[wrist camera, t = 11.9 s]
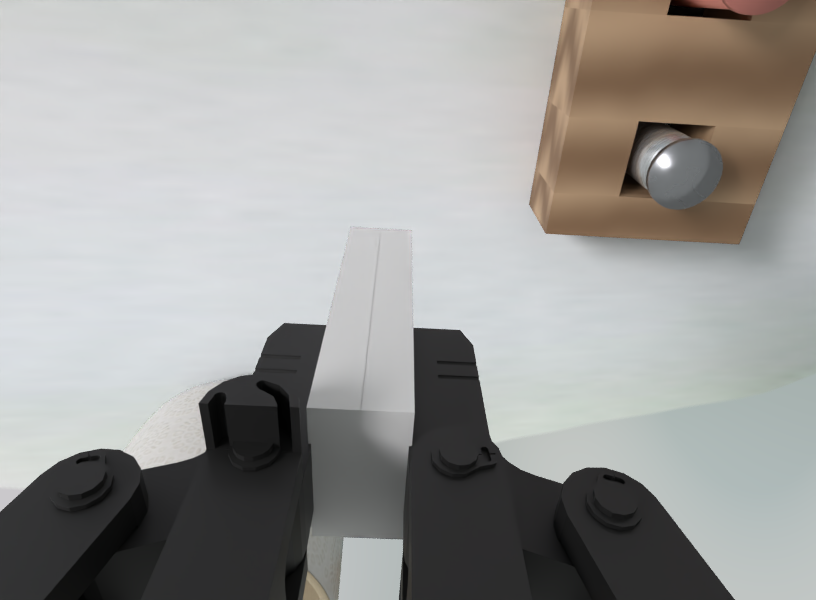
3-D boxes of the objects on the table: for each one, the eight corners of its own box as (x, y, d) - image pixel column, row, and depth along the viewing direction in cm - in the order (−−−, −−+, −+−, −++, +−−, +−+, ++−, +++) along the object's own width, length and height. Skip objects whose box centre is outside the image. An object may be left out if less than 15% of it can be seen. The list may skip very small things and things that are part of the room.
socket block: (591, -144, 33) (626, -169, 27) (817, -126, 33) (894, -148, 28) (529, 204, 43) (545, 233, 38) (699, 214, 44) (739, 244, 39)
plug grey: (611, 108, 40) (661, 137, 32) (669, 112, 40) (733, 141, 32) (597, 167, 42) (640, 207, 34) (653, 170, 42) (708, 211, 34)
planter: (339, 512, 62) (314, 701, 45) (153, 484, 60) (55, 672, 43) (373, 370, 52) (358, 547, 35) (151, 330, 50) (23, 499, 33)
